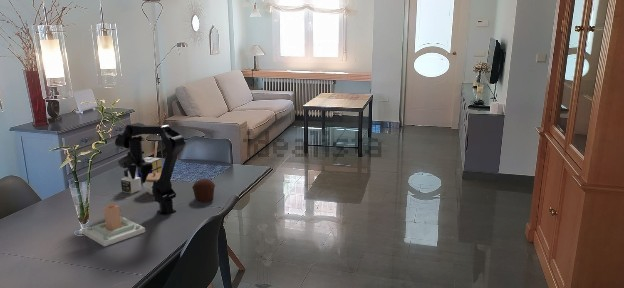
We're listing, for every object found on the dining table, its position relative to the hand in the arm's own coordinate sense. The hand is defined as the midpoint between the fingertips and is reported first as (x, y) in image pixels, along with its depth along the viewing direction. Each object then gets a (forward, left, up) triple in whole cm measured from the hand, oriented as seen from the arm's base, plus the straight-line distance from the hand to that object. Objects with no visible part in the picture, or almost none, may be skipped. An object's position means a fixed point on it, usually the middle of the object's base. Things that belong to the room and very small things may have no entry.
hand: (138, 180), depth 227 cm
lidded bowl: (+12, -16, -13) cm, 24 cm away
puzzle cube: (+40, -30, -13) cm, 52 cm away
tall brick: (-20, +24, -11) cm, 33 cm away
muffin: (-15, -27, -13) cm, 34 cm away
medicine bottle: (+24, -9, -13) cm, 29 cm away
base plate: (-20, +24, -13) cm, 34 cm away
